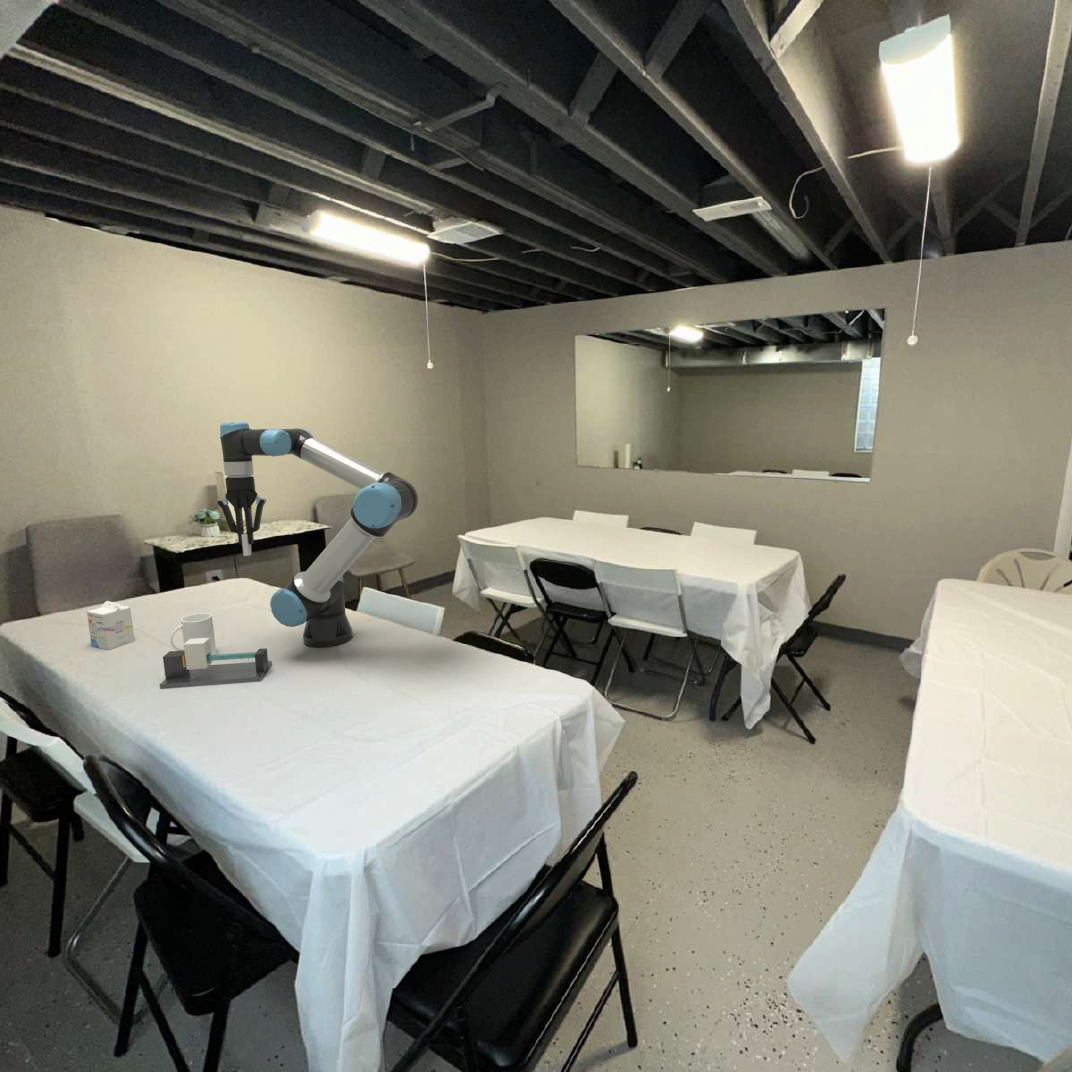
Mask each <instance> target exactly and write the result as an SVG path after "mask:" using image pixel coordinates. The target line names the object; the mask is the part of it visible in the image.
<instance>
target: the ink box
mask: <svg viewBox="0 0 1072 1072" xmlns="http://www.w3.org/2000/svg"><path fill="white" fill-rule="evenodd" d="M86 615H87V621H88V623H87V624H88V628H89V629H88V630H89V637H90V644H91V647H94V648H97V649H102V650H107V651H109V650H112V649H114V648H115V649H116V648H118V647H122V646H125V645H127V644H130V643H133V642H135V640H136V639H135V632H134V626H133V617H132V612H131V607H130V606H126V605H122V604H121V603H118V602H114V601H110V600H106V601H105V602H104V603H103V604H102V606H100V607H98V608H94V609H91V610H87V611H86Z"/></svg>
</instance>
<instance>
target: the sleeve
mask: <svg viewBox="0 0 1072 1072" xmlns="http://www.w3.org/2000/svg"><path fill="white" fill-rule="evenodd" d="M183 647H184V652H185V660H186V668H187V670H189V669H204V668H207V667H208V666H209V665H212V663H213V661H207V656H206V655H212V653H211V645H210V638H197V639H189V640H188V641H187V642H186V643H185V644H184V643H183Z"/></svg>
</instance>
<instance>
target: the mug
mask: <svg viewBox="0 0 1072 1072" xmlns="http://www.w3.org/2000/svg"><path fill="white" fill-rule="evenodd" d="M180 623H181V624H180V625H179V626H177V627H176V628H175V629H173V631H172V633H171V634H170V638H169V640H170V642H169V643H170V645H171V647H173V649H174V650H175V651H183V650H184V646H183V647H178V646H176V645H175V644H174V640H173V638H174V636H175V635H176V633H177V632H178V631H179V630H181V631H182V637H183V639H182V641H183V645H184V644H185V643H186V642H187V641H188V640H189V639H197V638H210V645H211V653H212V655H218V654H217V653H218V650H217V647H216V646H217V645H216V638H215V629H214V628H215V627H214V620H213V615H212V614H211V613H208V612H207V613H206V612H204V613H203V612H202V613H201V612H200V613H195V614H189V615H187V616H184V617H182V618H181V619H180Z"/></svg>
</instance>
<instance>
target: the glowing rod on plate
mask: <svg viewBox="0 0 1072 1072" xmlns="http://www.w3.org/2000/svg"><path fill="white" fill-rule="evenodd" d="M206 656H207V661H212V662H214V661H228V660H230V661H231V660H241V659H242V660H243V659H254V661H252V662H251V661H249V662H248V661H247V662H239V663H236V662H235V663H222V664H218V663H217V664H210V665H209V666H208V667H207V668H204V669H189V670H187V668H186V660H185V652H184V650H183V651H179V650H172V651H168V652H167V653H166V654H165V655H163V657H162V661H163V668H164V676H165V678H164V680H163V681H162V682H161V683H159V688H160V689H170V688H171V689H174V688H188V687H200V686H211V685H212V686H213V685H224V684H225V685H226V684H239V683H243V684H244V683H252V682H262V680H263V679H264V678H265V676H266V674H267V673H268V672H269V670H270V669H271V668H272V665H273V662H272V660H269V656H268V648H266V647H265V648H259V649H258V650H257V651H253V652H252V651H251V652H249V651H248V652H235V653H221V654H219V653H218V654H216V655H206Z"/></svg>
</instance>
